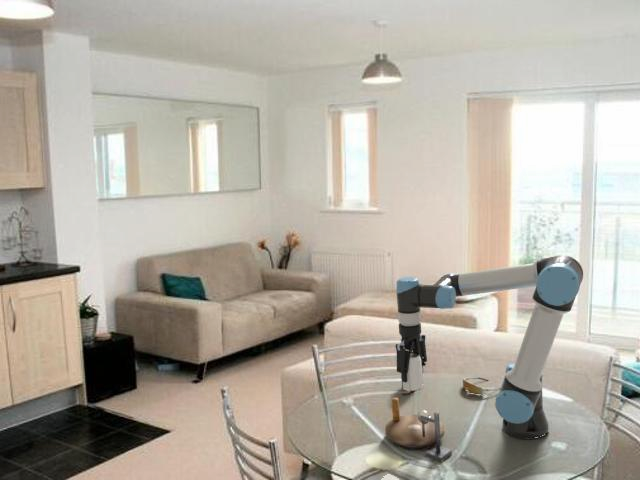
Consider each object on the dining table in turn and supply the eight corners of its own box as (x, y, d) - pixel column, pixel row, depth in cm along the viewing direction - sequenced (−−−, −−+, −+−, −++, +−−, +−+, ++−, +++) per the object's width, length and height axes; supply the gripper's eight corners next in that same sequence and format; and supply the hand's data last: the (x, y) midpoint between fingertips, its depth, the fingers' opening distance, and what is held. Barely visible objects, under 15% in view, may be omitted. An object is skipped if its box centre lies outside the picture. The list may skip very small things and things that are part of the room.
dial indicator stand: (451, 454, 211) (449, 412, 208) (441, 462, 206) (439, 419, 204) (425, 445, 218) (423, 405, 215) (415, 452, 214) (412, 411, 211)
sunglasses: (455, 387, 262) (456, 375, 262) (485, 384, 268) (486, 372, 268) (477, 400, 250) (478, 387, 249) (508, 396, 256) (509, 383, 255)
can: (401, 385, 227) (399, 353, 225) (418, 382, 229) (416, 350, 227) (408, 392, 221) (406, 359, 219) (425, 389, 223) (424, 356, 220)
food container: (418, 396, 256) (416, 372, 255) (402, 396, 258) (400, 372, 256) (419, 384, 268) (418, 361, 266) (404, 384, 269) (403, 361, 268)
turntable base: (447, 435, 223) (447, 429, 223) (420, 454, 212) (420, 448, 212) (410, 423, 234) (409, 417, 234) (382, 441, 223) (381, 435, 223)
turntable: (441, 417, 232) (440, 392, 230) (447, 445, 212) (445, 417, 210) (385, 419, 234) (383, 394, 232) (385, 447, 214) (383, 420, 212)
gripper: (418, 313, 230) (421, 375, 234) (382, 328, 217) (386, 393, 221) (435, 317, 224) (438, 380, 228) (400, 332, 211) (404, 398, 215)
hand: (413, 386), depth 225 cm, fingers closed on can, 6 cm apart
